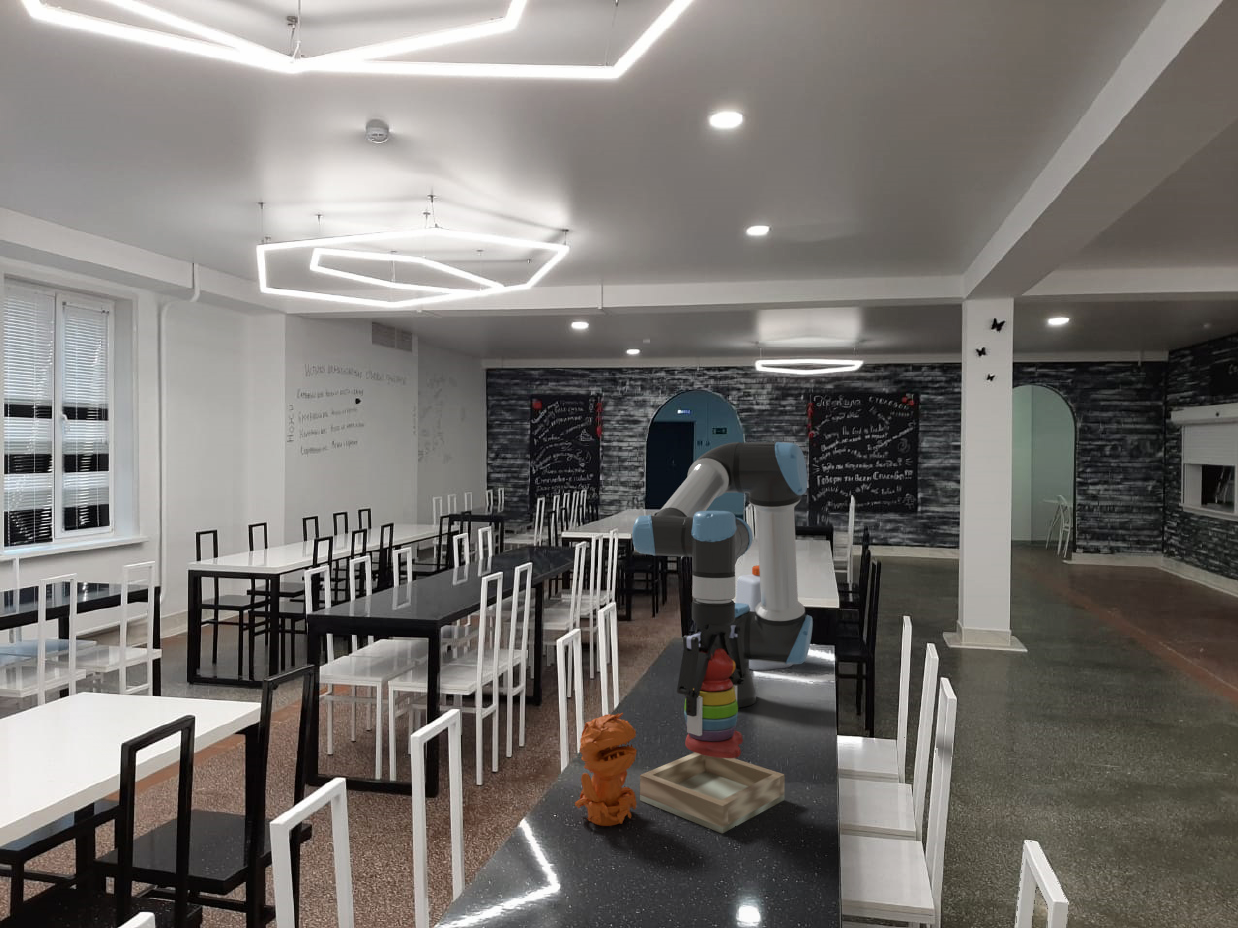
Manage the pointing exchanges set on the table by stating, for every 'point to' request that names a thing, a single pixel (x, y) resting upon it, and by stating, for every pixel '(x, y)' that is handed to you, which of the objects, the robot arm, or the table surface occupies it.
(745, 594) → the plastic bottle
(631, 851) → the table surface
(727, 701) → the stacking bear
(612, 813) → the toy dinosaur
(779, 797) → the open wooden box
